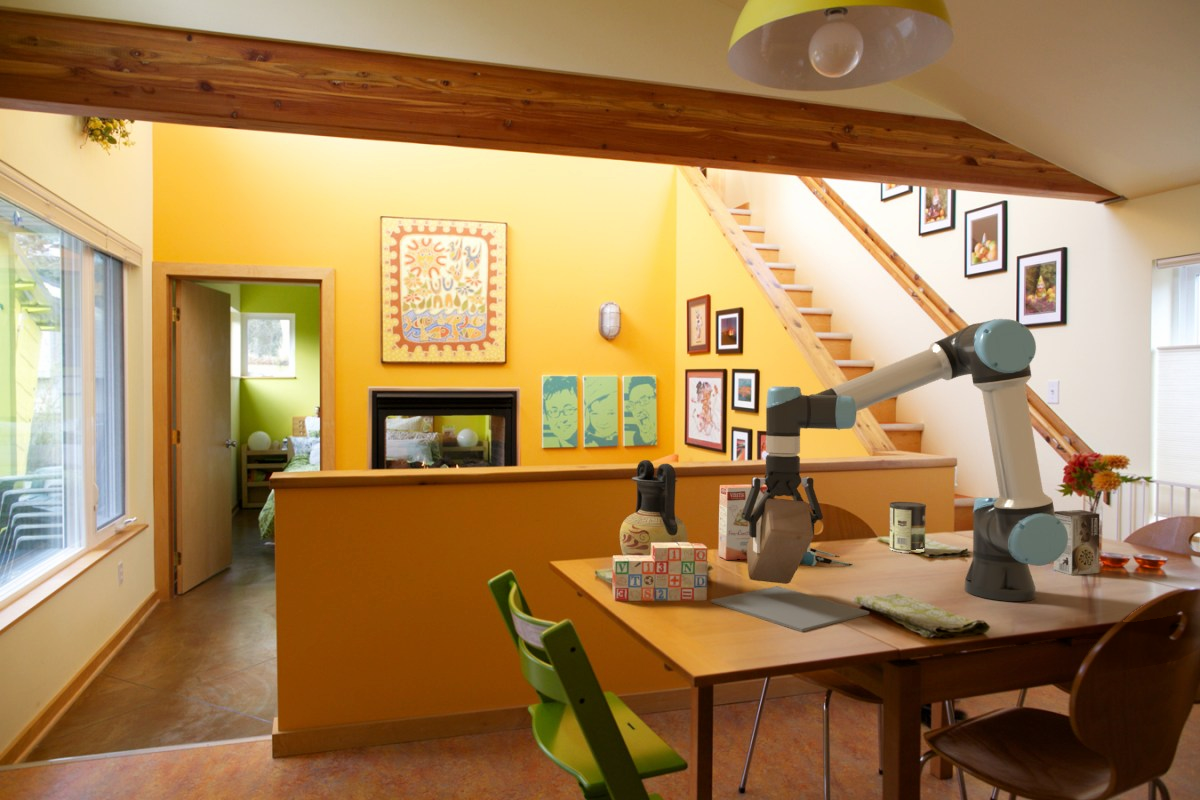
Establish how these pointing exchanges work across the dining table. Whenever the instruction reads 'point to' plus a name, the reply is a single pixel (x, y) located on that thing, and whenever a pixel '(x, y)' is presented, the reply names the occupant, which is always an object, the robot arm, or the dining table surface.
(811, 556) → the sunglasses
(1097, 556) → the grey food carton
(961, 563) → the dining table surface
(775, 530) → the wooden block
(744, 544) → the cracker box
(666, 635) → the dining table surface
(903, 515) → the coffee can
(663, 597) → the stack of blocks
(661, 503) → the amphora
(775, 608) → the mat
